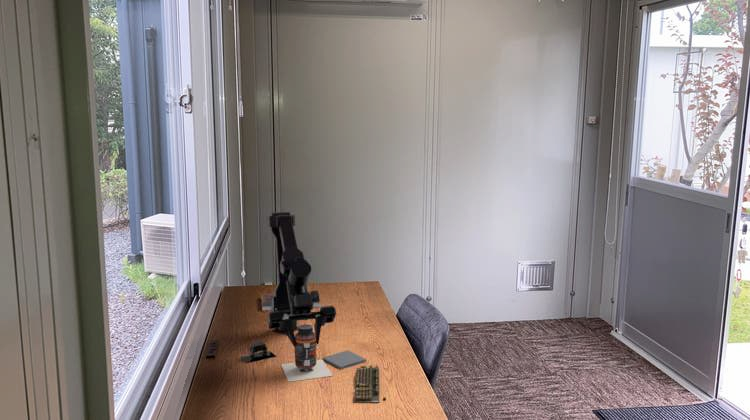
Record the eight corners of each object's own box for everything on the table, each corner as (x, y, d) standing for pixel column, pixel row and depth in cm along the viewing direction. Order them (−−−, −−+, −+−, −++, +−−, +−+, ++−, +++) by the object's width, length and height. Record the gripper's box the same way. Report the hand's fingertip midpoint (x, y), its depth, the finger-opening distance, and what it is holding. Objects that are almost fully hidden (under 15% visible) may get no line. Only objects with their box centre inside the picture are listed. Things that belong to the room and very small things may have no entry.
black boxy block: (273, 350, 185) (273, 336, 185) (283, 358, 179) (282, 343, 179) (234, 358, 179) (233, 344, 178) (242, 367, 173) (242, 351, 172)
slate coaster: (322, 359, 177) (322, 357, 177) (347, 352, 183) (347, 350, 182) (340, 369, 170) (340, 367, 170) (366, 361, 176) (366, 359, 176)
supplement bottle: (312, 370, 166) (312, 331, 164) (292, 368, 167) (291, 329, 165) (319, 362, 172) (318, 323, 170) (299, 360, 173) (298, 322, 171)
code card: (281, 365, 173) (281, 364, 173) (322, 359, 177) (322, 359, 177) (288, 381, 162) (288, 381, 162) (332, 376, 165) (332, 375, 165)
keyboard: (355, 369, 171) (355, 362, 171) (386, 370, 171) (387, 363, 171) (351, 405, 150) (351, 397, 149) (388, 405, 150) (388, 397, 149)
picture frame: (262, 312, 223) (321, 308, 227) (262, 306, 222) (321, 302, 227) (261, 299, 239) (316, 296, 243) (261, 293, 238) (316, 290, 243)
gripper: (268, 283, 167) (275, 336, 158) (334, 278, 172) (344, 328, 164) (264, 302, 175) (271, 353, 167) (328, 297, 181) (337, 345, 172)
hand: (306, 345), depth 167 cm, fingers closed on supplement bottle, 6 cm apart
